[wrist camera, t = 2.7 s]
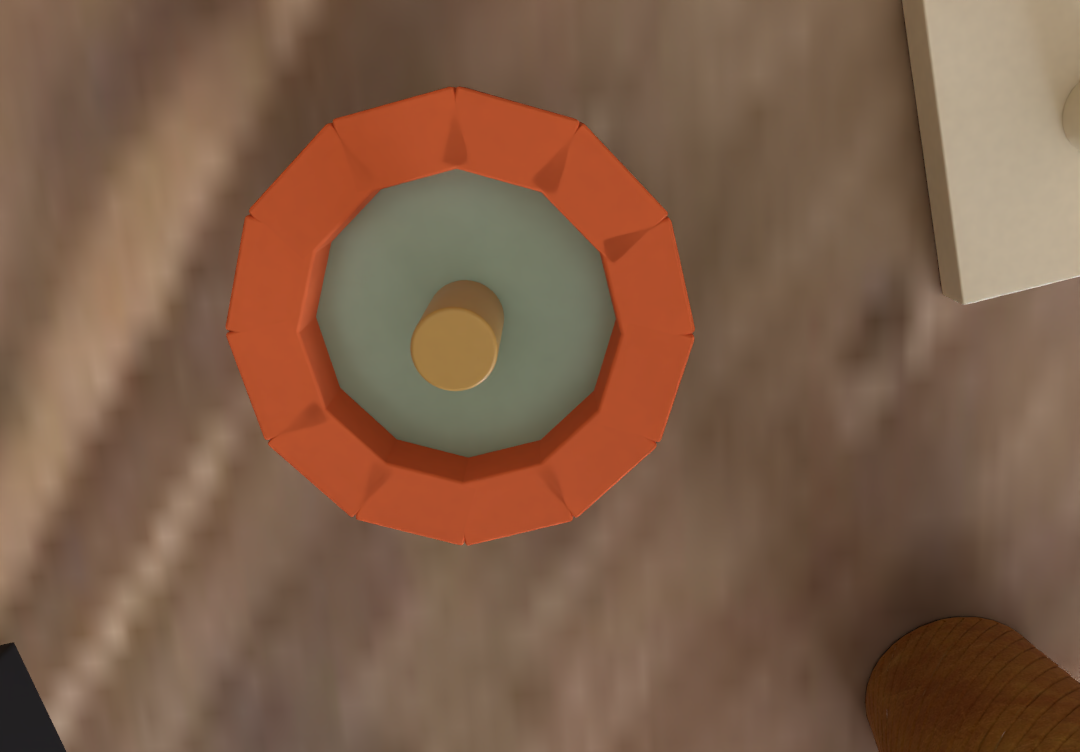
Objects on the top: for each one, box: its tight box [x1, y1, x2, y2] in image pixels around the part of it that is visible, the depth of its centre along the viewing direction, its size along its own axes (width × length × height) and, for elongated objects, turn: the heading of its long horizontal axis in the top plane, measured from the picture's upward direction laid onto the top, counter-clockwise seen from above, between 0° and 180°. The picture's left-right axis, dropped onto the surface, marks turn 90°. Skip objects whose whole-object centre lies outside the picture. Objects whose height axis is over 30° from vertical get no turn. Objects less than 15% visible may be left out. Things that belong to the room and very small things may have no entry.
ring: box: [226, 87, 695, 545], centre depth 21 cm, size 10×10×2 cm
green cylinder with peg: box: [316, 169, 616, 458], centre depth 23 cm, size 8×8×10 cm
